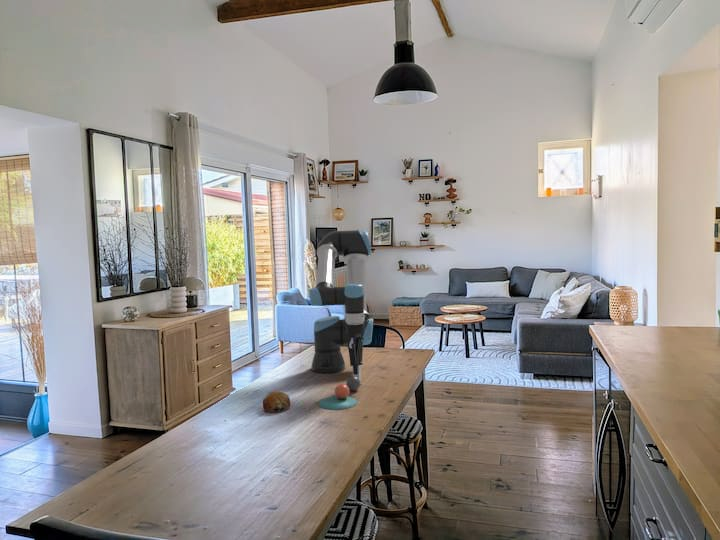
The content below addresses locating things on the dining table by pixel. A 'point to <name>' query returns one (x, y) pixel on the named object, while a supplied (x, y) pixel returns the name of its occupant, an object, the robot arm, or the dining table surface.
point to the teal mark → (337, 403)
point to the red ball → (342, 391)
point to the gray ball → (353, 383)
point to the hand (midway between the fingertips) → (357, 381)
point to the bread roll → (276, 402)
